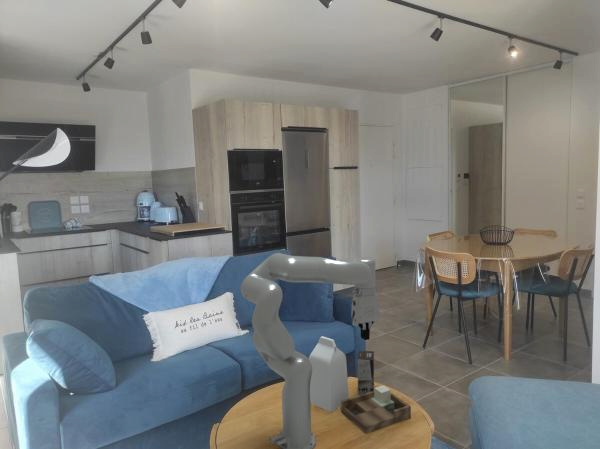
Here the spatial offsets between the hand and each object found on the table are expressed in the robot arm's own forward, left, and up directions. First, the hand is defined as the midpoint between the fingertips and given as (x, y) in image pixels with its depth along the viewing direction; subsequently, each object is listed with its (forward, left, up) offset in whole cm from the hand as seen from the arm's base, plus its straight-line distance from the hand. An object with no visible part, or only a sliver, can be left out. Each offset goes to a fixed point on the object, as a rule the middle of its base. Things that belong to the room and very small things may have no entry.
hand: (365, 338), depth 166 cm
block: (+8, 0, -26) cm, 27 cm away
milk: (-9, +13, -29) cm, 33 cm away
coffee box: (+8, +11, -29) cm, 32 cm away
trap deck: (+1, -4, -28) cm, 29 cm away
